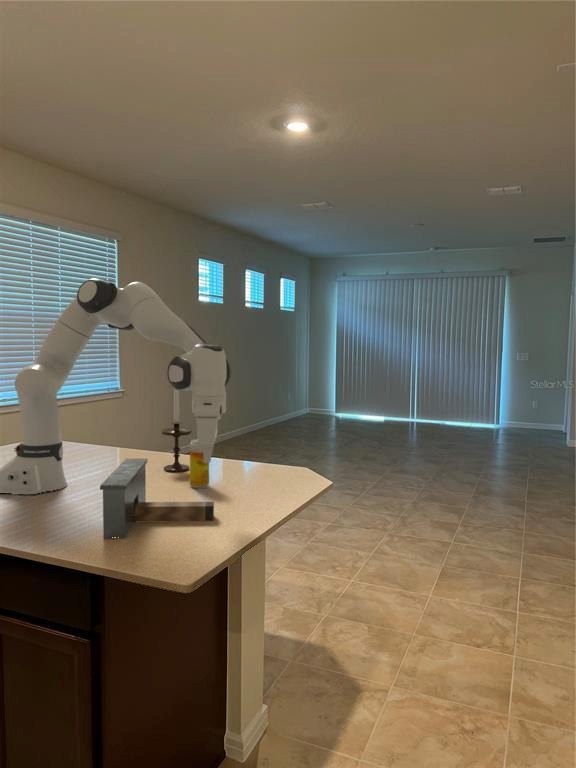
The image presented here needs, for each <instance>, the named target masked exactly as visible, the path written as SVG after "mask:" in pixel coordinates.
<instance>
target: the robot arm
mask: <svg viewBox="0 0 576 768" xmlns="http://www.w3.org/2000/svg"><path fill="white" fill-rule="evenodd" d="M103 324H107V327H108V328H112V329H117V330H121V331H122V330H123V331H132V330H134V329H135V330H136V332H137V333H139V334H140V335H141V336H142V337H143V338H145V339H147V340H149V341H155V342H160V343H166V344H170V345H173V346H176V347H179V348H181V349H182V350H184V351H185V352H186V353H184V354H181V355H178V356H174V357H173V358H172V359H171V361H170V362H169V364H168V366H167V371H166V372H167V380H168V382H169V384H170V385H171V387H172V388H173V389H174V388H175V389H176V390H179V391H181V392H183V391H185V392H186V391H192V393H191V412H192V413H193V417H195V420H196V421H195V422H196V434H197V439H198V443H199V447H203V456H204V462H205V463H209V464H210V463H211V461H212V455H213V453H214V445H215V443H216V438H217V436H218V435H217V434H218V426H219V425H218V421H219V420H221V419H222V415H223V414H225V413H226V412H227V392H226V386H227V385H228V383H229V382H230V381H231V376H232V369H231V365H230V363H229V360H227V358H226V353H225V350H224V348H223V347H222V346H220V345H218V344H215V343H209V342H208V343H207V342H206V341H205V339H203V337H202V336H201V335H200V334H198V332H197V331H196V330H195V329H194V328H193V327H192V326H191V325H190V324H188V323H187V322H185V321H184V320H182V319H181V318H180V317H179V316H178V315H176V314H175V313H174V312H173V311H172V310H171V309H170V308H169V307H168V306H167V305H166V304H165V303H164V301H163V300H162V299H161V297H160V296H159V294H157V293H156V292H155V290H153V289H152V288H151V287H150V286H149V285H147V284H146V283H144V282H142V281H141V282H140V281H134V282H131V283H129V284H127V285H126V286H125V287H122V288H120V287H118V286H116V284H115V282H110V281H107V280H104V279H101V278H94V277H92V278H89V279H87V280H85V281H84V282H83V283H82V284H81V285H80V286H79V287H78V290H77V294H76V297H75V298H73V299H72V301H70V303H69V304H68V305H67V306H66V307H65V308H64V310H62V312H61V314H60V315H59V316H58V318H57V320H56V321H55V322H54V324H53V326H52V327H51V329H50V331H48V333H47V335H46V337H45V338H44V340H43V343H42V346H41V347H40V350H39V352H38V354H37V357H36V358H35V360H34V362H33V363H32V364H31V365H27V366H24V367H23V368H22V369H21V370H19V372H18V373H17V375H16V377H15V379H14V389H15V392H16V394H17V402H18V407H19V411H20V417H21V438H22V441H21V442H20V443H19V444H17V445H16V447H14V448H13V449H14V452H16V456H14V457H12V458H11V459H10V460H9V461H7V462H6V463H5V464H4V465H3V466H1V467H0V493H14V494H13V495H18V494H36V495H38V494H37V493H40V494H42V493H41V492H44V493H47V492H46V491H50V492H54V491H53V490H55V491H58V490H61V489H64V488H66V487H67V486H68V481H67V479H66V476H65V471H64V467H63V458H64V447H63V442H62V438H61V437H62V433H61V431H62V429H61V424H62V423H61V415H60V412H59V404H58V399H57V394H58V393H59V392H60V390H61V389H62V388H63V386H64V384H65V383H66V381H67V379H68V377H69V376H70V374H71V372H72V370H73V368H74V366H75V364H76V362H77V360H78V358H79V357H80V355H81V354H82V353H83V351H84V349H85V348H86V346H87V344H88V343H89V341H90V340H91V338H92V337H93V335H94V334H95V331H96V330H97V329H98V327H99V326H101V325H103ZM57 489H58V490H57Z"/></svg>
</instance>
